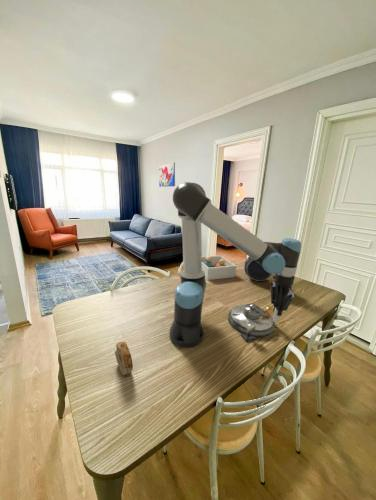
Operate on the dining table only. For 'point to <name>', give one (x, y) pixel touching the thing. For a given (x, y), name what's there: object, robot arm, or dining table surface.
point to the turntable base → (256, 334)
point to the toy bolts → (209, 264)
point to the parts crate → (218, 268)
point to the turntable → (260, 324)
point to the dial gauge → (250, 329)
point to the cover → (252, 311)
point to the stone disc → (123, 358)
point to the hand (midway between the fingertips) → (275, 320)
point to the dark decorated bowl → (255, 270)
